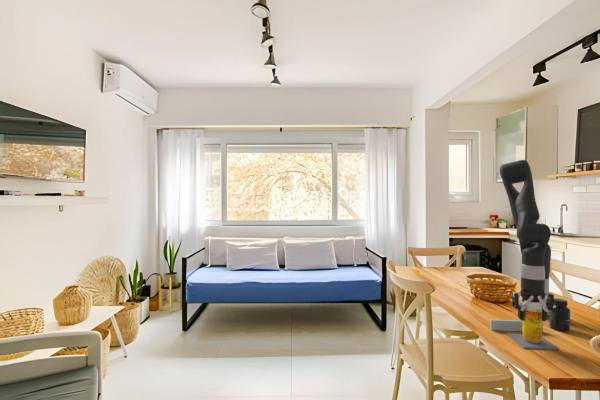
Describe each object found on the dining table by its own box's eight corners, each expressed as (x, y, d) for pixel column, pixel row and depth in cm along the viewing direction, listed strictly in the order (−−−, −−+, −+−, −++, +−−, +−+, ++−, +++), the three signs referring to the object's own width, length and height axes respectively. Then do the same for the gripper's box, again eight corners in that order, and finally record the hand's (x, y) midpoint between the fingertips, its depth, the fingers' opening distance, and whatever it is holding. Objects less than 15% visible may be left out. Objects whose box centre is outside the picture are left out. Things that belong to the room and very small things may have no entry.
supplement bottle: (571, 333, 137) (571, 303, 137) (550, 329, 141) (550, 300, 140) (568, 327, 143) (569, 299, 143) (548, 324, 146) (549, 296, 146)
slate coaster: (539, 336, 134) (539, 334, 134) (559, 350, 122) (559, 348, 122) (507, 334, 135) (507, 333, 135) (523, 348, 123) (523, 346, 123)
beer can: (536, 344, 125) (536, 303, 125) (518, 338, 130) (519, 299, 130) (545, 341, 127) (545, 301, 127) (528, 335, 133) (528, 297, 133)
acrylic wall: (541, 331, 139) (541, 321, 139) (543, 332, 138) (543, 322, 138) (490, 329, 141) (490, 319, 141) (491, 330, 140) (491, 320, 140)
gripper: (546, 274, 131) (546, 317, 131) (507, 273, 133) (507, 316, 133) (559, 279, 124) (559, 324, 124) (517, 278, 125) (517, 323, 125)
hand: (532, 320), depth 128 cm, fingers open, 7 cm apart
